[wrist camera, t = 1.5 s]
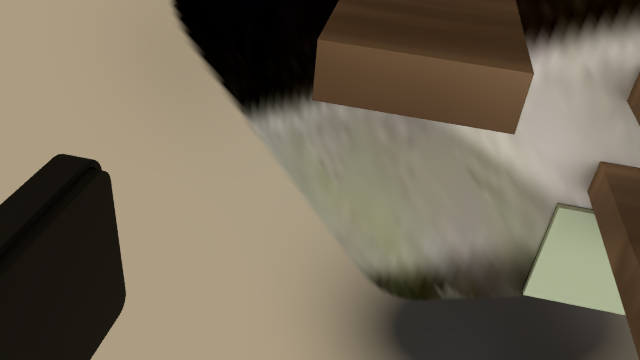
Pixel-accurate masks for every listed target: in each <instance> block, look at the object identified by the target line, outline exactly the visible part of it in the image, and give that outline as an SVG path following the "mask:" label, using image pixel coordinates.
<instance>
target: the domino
mask: <svg viewBox="0 0 640 360" xmlns="http://www.w3.org/2000/svg"><path fill="white" fill-rule="evenodd" d="M533 75H534V72H533V68H532V64H531V60H530V56H529V52H528V48H527V44H526V40H525V36H524V32H523V28H522V24H521V20H520V16H519V12H518V8H517V4H516V0H339V1H338V3H337V5H336V7H335V9H334V11H333V12H332V14H331V16H330V18H329V20H328V22H327V23H326V25H325V27H324V29H323V31H322V33H321V35H320V36H319V38H318V43H317V54H316V66H315V77H314V88H313V100H315V101H321V102H327V103H333V104H338V105H344V106H350V107H356V108H362V109H368V110H374V111H380V112H386V113H391V114H397V115H403V116H409V117H415V118H421V119H427V120H433V121H438V122H444V123H450V124H456V125H462V126H468V127H474V128H480V129H485V130H491V131H497V132H503V133H509V134H515V131H516V128H517V124H518V121H519V118H520V115H521V112H522V109H523V106H524V103H525V100H526V97H527V94H528V91H529V87H530V84H531V81H532V78H533Z"/></svg>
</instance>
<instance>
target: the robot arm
mask: <svg viewBox="0 0 640 360" xmlns="http://www.w3.org/2000/svg"><path fill="white" fill-rule="evenodd" d="M125 297H126V290H125V282H124V275H123V268H122V260H121V253H120V245H119V238H118V230H117V223H116V216H115V208H114V201H113V193H112V186H111V179H110V176H109V174H108V173H107V172H106V171H102V169H101V166H100V164H99V163H98V162H97V161H96V160H92V159H87V158H82V157H77V156H71V155H66V154H58V155H57V156H55V157H53V158H52V159H51V160H50V161H49V162H48V163H47V164H46V165H44V166H43V167H42V168H41V169H40V170H39V171H38V172H37V173H35V174H34V175H33V176H32V177H31V178H30V179H29V180H28V181H26V182H25V183H24V184H23V185H22V186H21V187H20V188H19V189H18V190H16V191H15V192H14V193H13V194H12V195H11V196H10V197H9V198H7V199H6V200H5V201H4V202H3V203H2V204H1V205H0V360H90V359H91V358H92V356H93V355H94V353H95V352H96V350H97V348H98V347H99V345H100V344H101V342H102V341H103V339H104V338H105V336H106V335H107V333H108V332H109V330H110V328H111V327H112V326H113V324H114V322H115V321H116V319H117V318H118V316H119V315H120V313H121V311H122V309H123V306H124V302H125Z"/></svg>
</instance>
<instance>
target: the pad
mask: <svg viewBox="0 0 640 360" xmlns="http://www.w3.org/2000/svg"><path fill="white" fill-rule="evenodd" d="M523 295H527V296H532V297H537V298H542V299H547V300H552V301H558V302H562V303H568V304H572V305H578V306H582V307H587V308H593V309H598V310H602V311H607V312H612V313H617V314H622V315H625V311H624V308H623V305H622V302H621V298H620V295H619V292H618V289H617V285H616V282H615V279H614V276H613V273H612V269H611V266H610V263H609V260H608V256H607V253H606V250H605V247H604V243H603V240H602V237H601V234H600V230H599V227H598V224H597V221H596V217H595V214H594V211H593V210H590V209H584V208H579V207H573V206H568V205H562V204H558V205H557V208H556V210H555V213H554V215H553V217H552V220H551V222H550V225H549V227H548V230H547V232H546V235H545V237H544V240H543V242H542V244H541V247H540V249H539V252H538V254H537V257H536V259H535V262H534V264H533V267H532V269H531V271H530V274H529V276H528V279H527V281H526V284H525V286H524V289H523Z"/></svg>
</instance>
